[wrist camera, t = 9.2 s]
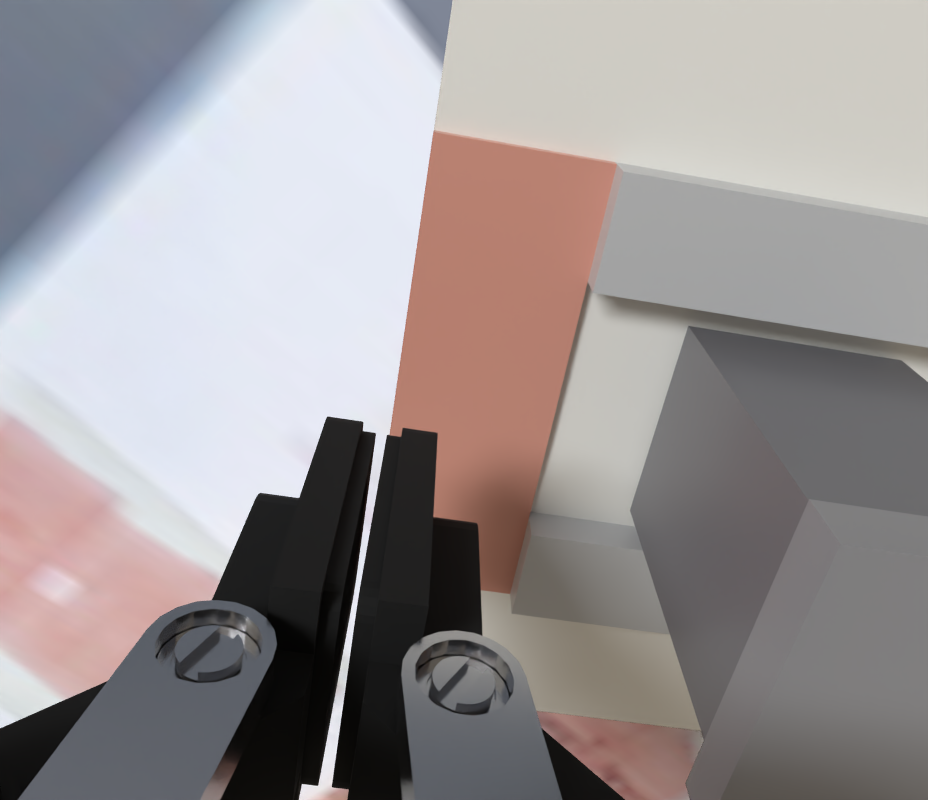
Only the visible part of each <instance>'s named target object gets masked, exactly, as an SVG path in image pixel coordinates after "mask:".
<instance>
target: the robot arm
mask: <svg viewBox="0 0 928 800" xmlns="http://www.w3.org/2000/svg"><path fill="white" fill-rule="evenodd" d="M375 436H376V433H371V432H364V431H363V422H361V421H354V420H347V419H340V418H334V417H327V418H326V421H325V424H324V427H323V430H322V433H321V436H320V439H319V442H318V444H317V447H316V450H315V453H314V456H313V459H312V462H311V465H310V468H309V471H308V474H307V477H306V480H305V483H304V486H303V489H302V492H301V495H300V498H293V497H286V496H279V495H272V494H264V493H260V494H258V496H257V497H256V499H255V501H254V504H253V506H252V508H251V511H250V513H249V515H248V518H247V520H246V522H245V525H244V527H243V529H242V532H241V534H240V536H239V539H238V541H237V543H236V546H235V548H234V550H233V553H232V555H231V557H230V559H229V562H228V564H227V566H226V569H225V571H224V573H223V576H222V578H221V580H220V583H219V585H218V587H217V590H216V592H215V594H214V597H213V599H212V600H211V601H198V602H194V603H190V604H187V605H183V606H180V607H177V608H175V609H173V610H171V611H170V612H168V613H166V614H164V615H162V616H160V617H159V618H158V619H157V620H156V621H155V622H154V623H153V624H152V625H151V626H150V627H149V628H148V629H147V630H146V631H145V633H144V634H143V635H142V637H141V638H140V639H139V641H138V642H137V643H136V645H135V646H134V647H133V648H132V650H131V651H130V652H129V654H128V655H127V656H126V658H125V659H124V660H123V662H122V663H121V664H120V666H119V667H118V668H117V670H116V671H115V672H114V674H113V675H112V676H111V677H110V679H109V680H108V681H107V682H105V683H102V684H100V685H98V686H96V687H93V688H91V689H89V690H86V691H84V692H82V693H80V694H77V695H75V696H73V697H71V698H68V699H66V700H64V701H62V702H59V703H57V704H55V705H52V706H50V707H48V708H46V709H43V710H41V711H39V712H37V713H34V714H32V715H30V716H28V717H25V718H23V719H21V720H18V721H16V722H14V723H12V724H9V725H7V726H5V727H3V728H0V800H299V795H300V790H301V785H302V784H307V785H316V786H318V783H319V778H320V773H321V768H322V762H323V757H324V752H325V746H326V741H327V735H328V730H329V725H330V719H331V714H332V709H333V703H334V698H335V692H336V687H337V682H338V676H339V671H340V665H341V660H342V655H343V649H344V644H345V639H346V633H347V628H348V622H349V617H350V612H351V606H352V601H353V595H354V589H355V583H356V576H357V569H358V561H359V554H360V547H361V539H362V532H363V525H364V517H365V510H366V503H367V495H368V488H369V481H370V474H371V466H372V459H373V452H374V444H375ZM437 439H438V433H436V432H429V431H422V430H415V429H409V428H402V435H401V437H399V436H392V435H387V438H386V444H385V450H384V455H383V461H382V467H381V472H380V478H379V484H378V489H377V495H376V501H375V506H374V512H373V518H372V523H371V529H370V535H369V540H368V546H367V552H366V558H365V563H364V569H363V575H362V580H361V586H360V592H359V598H358V605H357V611H356V618H355V625H354V632H353V640H352V647H351V654H350V661H349V668H348V675H347V682H346V690H345V697H344V704H343V711H342V718H341V725H340V732H339V739H338V747H337V754H336V761H335V768H334V775H333V782H332V787H334V788H343V789H349V793H348V799H347V800H625V799H623V798H622V797H621V796H620V795H619V794H618V793H616V792H615V791H614V790H613V789H612V788H611V787H609V786H608V785H607V784H606V783H605V782H604V781H602V780H601V779H600V778H599V777H598V776H597V775H595V774H594V773H593V772H592V771H591V770H590V769H588V768H587V767H586V766H585V765H584V764H583V763H581V762H580V761H579V760H578V759H577V758H576V757H574V756H573V755H572V754H571V753H570V752H569V751H567V750H566V749H565V748H564V747H563V746H562V745H560V744H559V743H558V742H557V741H556V740H555V739H553V738H552V737H551V736H550V735H549V734H548V733H546V732H545V731H544V730H543V729H542V728H541V725H540V722H539V718H538V715H537V712H536V708H535V705H534V701H533V698H532V695H531V691H530V688H529V684H528V681H527V678H526V675H525V673H524V671H523V669H522V667H521V665H520V663H519V661H518V660H517V659H516V658H515V657H514V656H513V655H512V654H511V653H510V652H509V651H508V649H506V648H505V647H503V646H502V645H500V644H498V643H497V642H495V641H494V640H492V639H490V638H487V637H484V636H483V635H482V609H481V582H480V556H479V530H478V524H477V523H474V522H467V521H459V520H452V519H445V518H438V517H433V515H434V496H435V477H436V458H437Z"/></svg>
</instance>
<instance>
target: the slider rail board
mask: <svg viewBox="0 0 928 800" xmlns="http://www.w3.org/2000/svg"><path fill="white" fill-rule="evenodd" d="M688 326H693V327H699V328H705V329H711V330H718V331H724V332H730V333H736V334H742V335H749V336H755V337H761V338H767V339H773V340H779V341H786V342H792V343H798V344H804V345H810V346H816V347H823V348H829V349H835V350H841V351H847V352H854V353H860V354H866V355H872V356H878V357H884V358H891V359H897V360H902V361H903V362H904V363H905V364H907V365H908V366H909V367H910V368H911V369H913V370H914V371H915V372H916V373H917V374H919V375H920V376H921V377H922V378H924V379H925V380H926V381H927V382H928V0H453V2H452V9H451V16H450V23H449V30H448V37H447V44H446V51H445V58H444V65H443V71H442V78H441V85H440V92H439V99H438V106H437V113H436V120H435V127H434V132H433V139H432V146H431V153H430V160H429V167H428V174H427V181H426V187H425V194H424V201H423V208H422V215H421V222H420V229H419V236H418V243H417V250H416V256H415V263H414V270H413V277H412V284H411V291H410V298H409V305H408V312H407V319H406V326H405V332H404V339H403V346H402V353H401V360H400V367H399V374H398V381H397V388H396V395H395V401H394V408H393V415H392V422H391V429H390V435H392V436H399V437H401V435H402V428H409V429H415V430H422V431H429V432H436V433H438V439H437V458H436V477H435V496H434V515H433V517H438V518H445V519H452V520H459V521H467V522H474V523H477V524H478V530H479V556H480V582H481V609H482V635H483V636H484V637H487V638H490V639H492V640H494V641H495V642H497V643H498V644H500V645H502V646H503V647H505V648H506V649H508V651H509V652H510V653H511V654H512V655H513V656H514V657H515V658H516V659H517V660H518V661H519V663H520V665H521V667H522V669H523V671H524V673H525V675H526V678H527V681H528V684H529V688H530V691H531V695H532V698H533V701H534V705H535V708H536V711H542V712H551V713H559V714H567V715H575V716H583V717H591V718H599V719H607V720H616V721H624V722H632V723H640V724H648V725H656V726H664V727H672V728H680V729H689V730H697V731H701V729H700V726H699V723H698V720H697V717H696V713H695V710H694V707H693V704H692V701H691V698H690V695H689V692H688V689H687V686H686V683H685V679H684V676H683V673H682V670H681V667H680V664H679V661H678V658H677V655H676V652H675V648H674V645H673V642H672V639H671V636H670V633H669V630H668V627H667V624H666V621H665V618H664V614H663V611H662V608H661V605H660V602H659V599H658V596H657V593H656V590H655V587H654V583H653V580H652V577H651V574H650V571H649V568H648V565H647V562H646V559H645V556H644V553H643V549H642V546H641V543H640V540H639V537H638V534H637V531H636V528H635V525H634V522H633V518H632V515H631V512H630V508H631V505H632V502H633V499H634V496H635V493H636V489H637V486H638V483H639V480H640V477H641V474H642V470H643V467H644V464H645V461H646V458H647V455H648V451H649V448H650V445H651V442H652V439H653V436H654V432H655V429H656V426H657V423H658V420H659V417H660V414H661V410H662V407H663V404H664V401H665V398H666V395H667V391H668V388H669V385H670V382H671V379H672V376H673V372H674V369H675V366H676V363H677V360H678V357H679V353H680V350H681V347H682V344H683V341H684V338H685V335H686V331H687V328H688Z"/></svg>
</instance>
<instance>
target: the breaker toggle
mask: <svg viewBox="0 0 928 800" xmlns="http://www.w3.org/2000/svg"><path fill="white" fill-rule="evenodd" d="M630 512H631V515H632V518H633V522H634V525H635V528H636V531H637V534H638V537H639V540H640V543H641V546H642V549H643V553H644V556H645V559H646V562H647V565H648V568H649V571H650V574H651V577H652V580H653V583H654V587H655V590H656V593H657V596H658V599H659V602H660V605H661V608H662V611H663V614H664V618H665V621H666V624H667V627H668V630H669V633H670V636H671V639H672V642H673V645H674V648H675V652H676V655H677V658H678V661H679V664H680V667H681V670H682V673H683V676H684V679H685V683H686V686H687V689H688V692H689V695H690V698H691V701H692V704H693V707H694V710H695V713H696V717H697V720H698V723H699V726H700V729H701V732H702V735H703V738H704V742H703V744H702V746H701V749H700V751H699V753H698V756H697V758H696V760H695V762H694V765H693V767H692V769H691V772H690V774H689V776H688V779H687V781H686V787H687V790H688V794H689V797H690V800H928V382H927V381H926V380H925V379H924V378H922V377H921V376H920V375H919V374H917V373H916V372H915V371H914V370H913V369H911V368H910V367H909V366H908V365H907V364H905V363H904V362H903V361H902V360H897V359H891V358H884V357H878V356H872V355H866V354H860V353H854V352H847V351H841V350H835V349H829V348H823V347H816V346H810V345H804V344H798V343H792V342H786V341H779V340H773V339H767V338H761V337H755V336H749V335H742V334H736V333H730V332H724V331H718V330H711V329H705V328H699V327H693V326H688V328H687V331H686V335H685V338H684V341H683V344H682V347H681V350H680V353H679V357H678V360H677V363H676V366H675V369H674V372H673V376H672V379H671V382H670V385H669V388H668V391H667V395H666V398H665V401H664V404H663V407H662V410H661V414H660V417H659V420H658V423H657V426H656V429H655V432H654V436H653V439H652V442H651V445H650V448H649V451H648V455H647V458H646V461H645V464H644V467H643V470H642V474H641V477H640V480H639V483H638V486H637V489H636V493H635V496H634V499H633V502H632V505H631V508H630Z"/></svg>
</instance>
